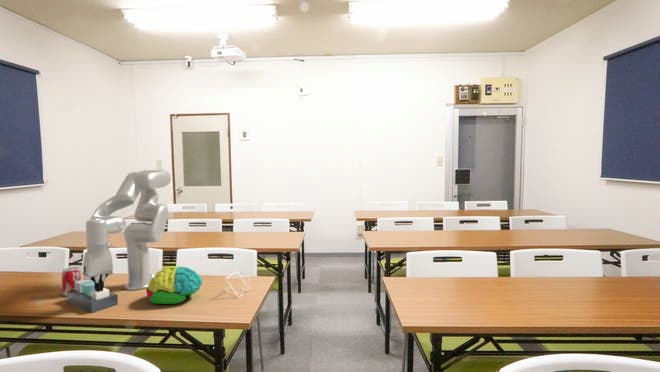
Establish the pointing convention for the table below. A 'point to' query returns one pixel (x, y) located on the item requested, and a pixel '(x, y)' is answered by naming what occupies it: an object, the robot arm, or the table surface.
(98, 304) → the console
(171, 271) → the brain model
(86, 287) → the teal key
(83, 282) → the grey key
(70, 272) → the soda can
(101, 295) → the ivory key
